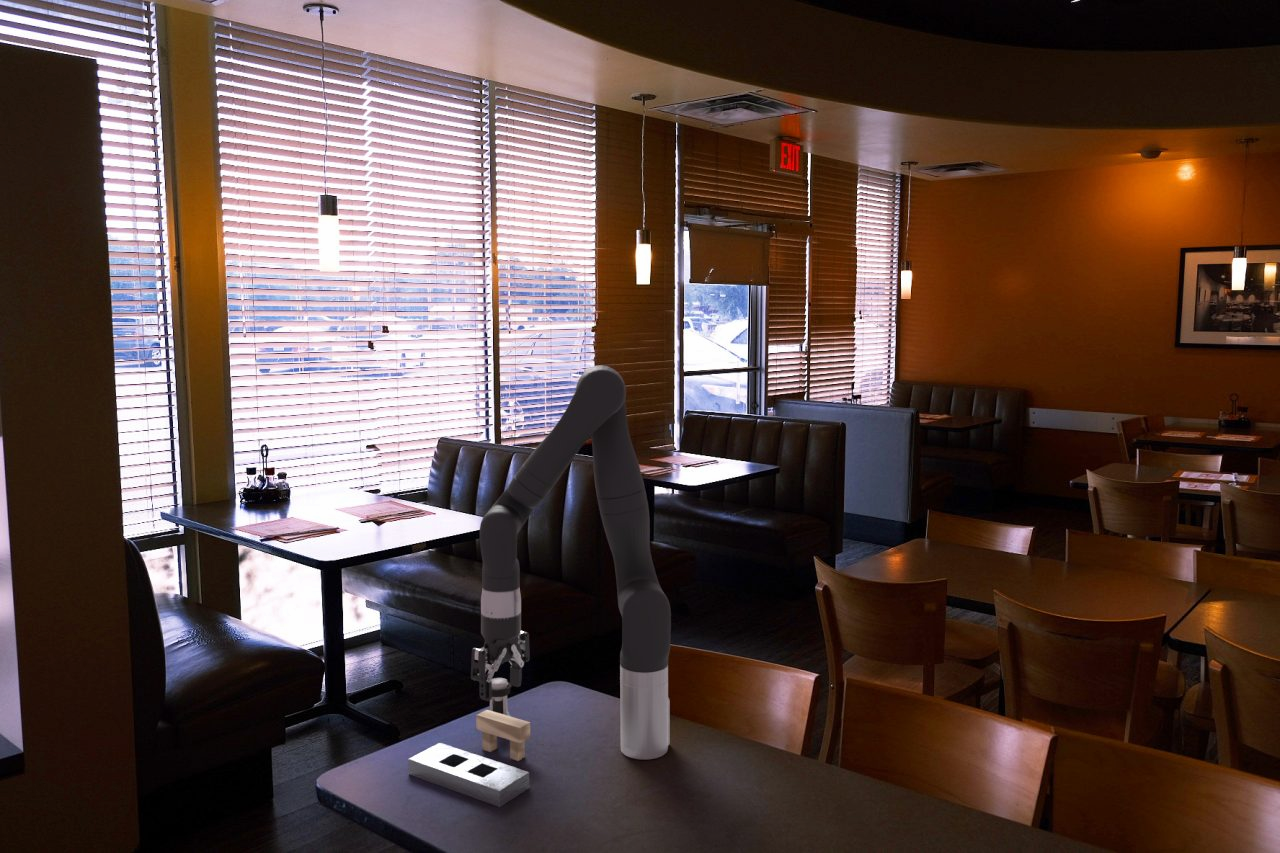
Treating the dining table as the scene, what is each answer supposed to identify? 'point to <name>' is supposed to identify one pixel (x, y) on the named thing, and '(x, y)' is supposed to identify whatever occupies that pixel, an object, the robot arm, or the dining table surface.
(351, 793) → the dining table surface
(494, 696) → the push button
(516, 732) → the wooden peg block
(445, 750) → the grey block with holes
